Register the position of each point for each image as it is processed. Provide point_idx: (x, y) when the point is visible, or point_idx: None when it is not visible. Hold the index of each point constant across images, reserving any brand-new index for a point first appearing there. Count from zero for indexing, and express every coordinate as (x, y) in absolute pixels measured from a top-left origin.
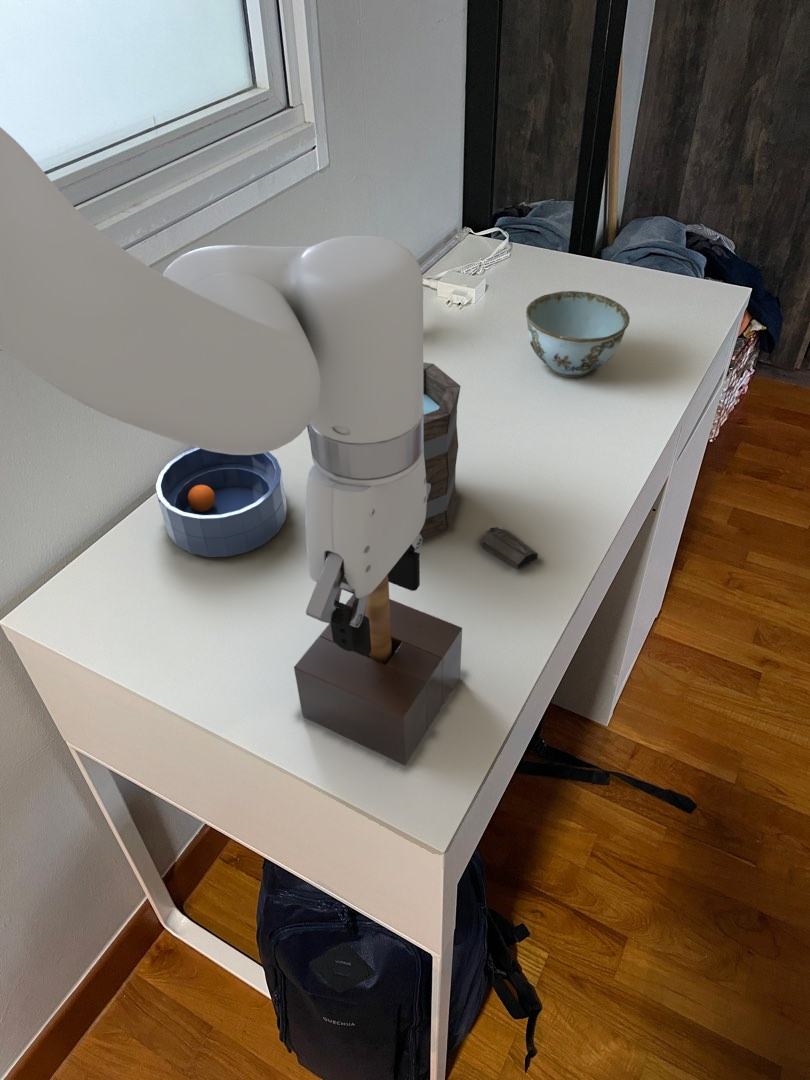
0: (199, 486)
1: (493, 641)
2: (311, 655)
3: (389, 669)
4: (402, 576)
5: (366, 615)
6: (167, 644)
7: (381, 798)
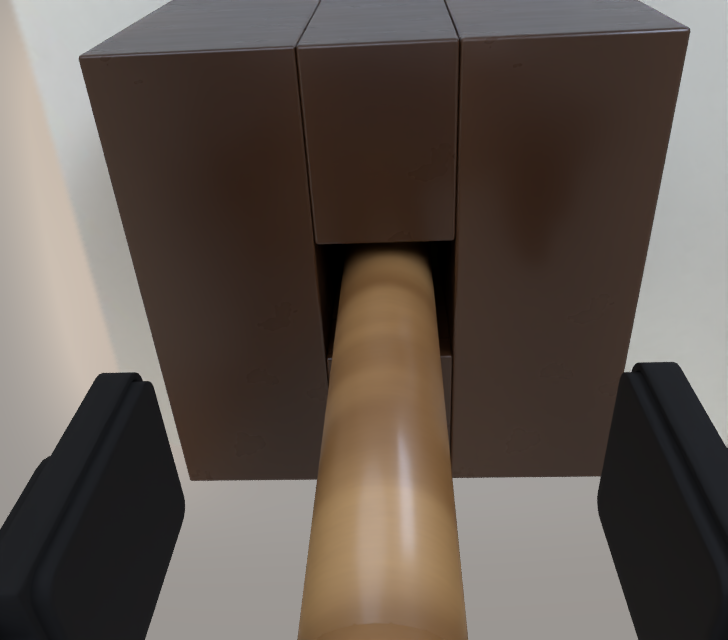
0: None
1: (711, 338)
2: (181, 88)
3: (313, 378)
4: (628, 519)
5: (327, 432)
6: None
7: (138, 323)
